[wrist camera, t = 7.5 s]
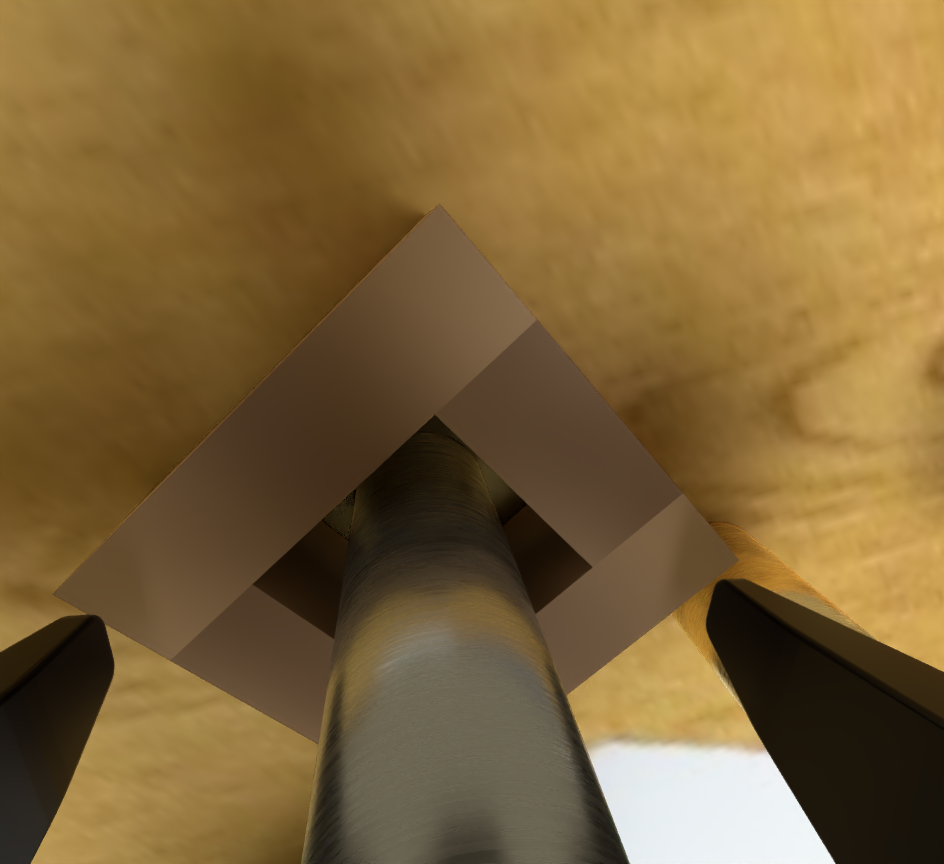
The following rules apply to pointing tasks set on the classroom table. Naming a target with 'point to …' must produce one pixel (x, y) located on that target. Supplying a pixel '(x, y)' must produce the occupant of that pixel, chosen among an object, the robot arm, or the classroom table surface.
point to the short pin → (761, 571)
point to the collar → (361, 452)
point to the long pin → (445, 690)
